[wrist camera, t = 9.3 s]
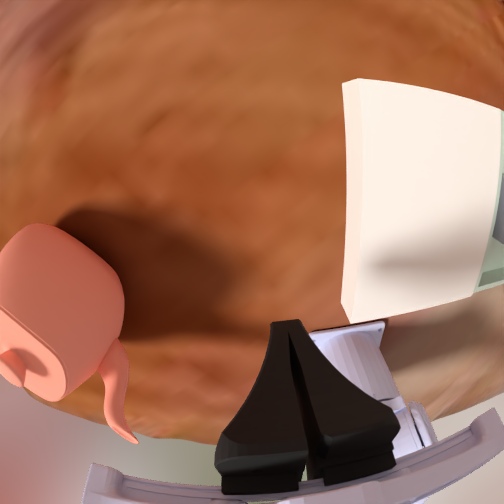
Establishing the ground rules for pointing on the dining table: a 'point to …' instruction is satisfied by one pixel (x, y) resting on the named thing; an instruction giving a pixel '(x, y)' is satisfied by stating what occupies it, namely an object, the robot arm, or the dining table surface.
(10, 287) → the teapot
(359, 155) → the board
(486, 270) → the box
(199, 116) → the dining table surface
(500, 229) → the tile
